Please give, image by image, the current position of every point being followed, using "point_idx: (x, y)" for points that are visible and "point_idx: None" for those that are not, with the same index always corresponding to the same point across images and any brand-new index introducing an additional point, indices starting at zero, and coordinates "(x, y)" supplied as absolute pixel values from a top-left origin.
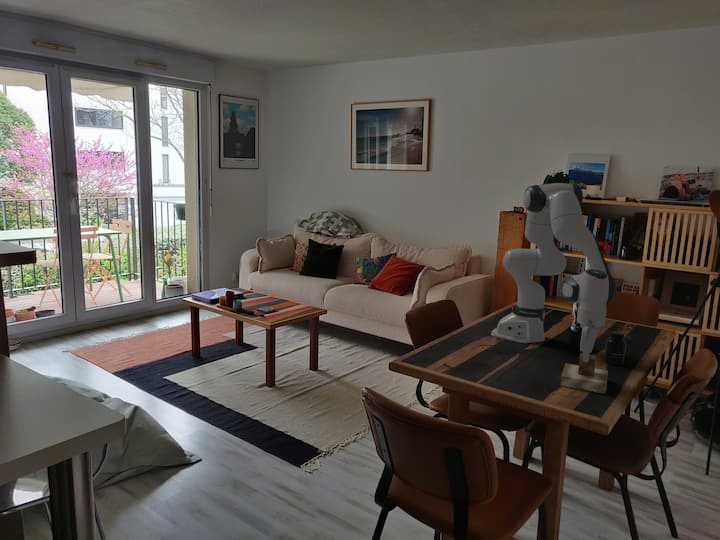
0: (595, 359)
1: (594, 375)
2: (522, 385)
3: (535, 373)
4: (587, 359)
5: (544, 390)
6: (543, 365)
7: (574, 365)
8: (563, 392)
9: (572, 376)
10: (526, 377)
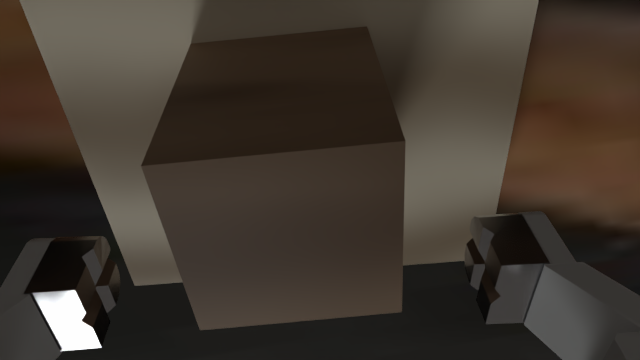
0: (393, 144)
1: (317, 23)
2: (546, 346)
3: (307, 341)
4: (555, 245)
5: (592, 259)
6: (117, 338)
7: (131, 226)
8: (596, 168)
9: (461, 196)
10: (406, 356)
